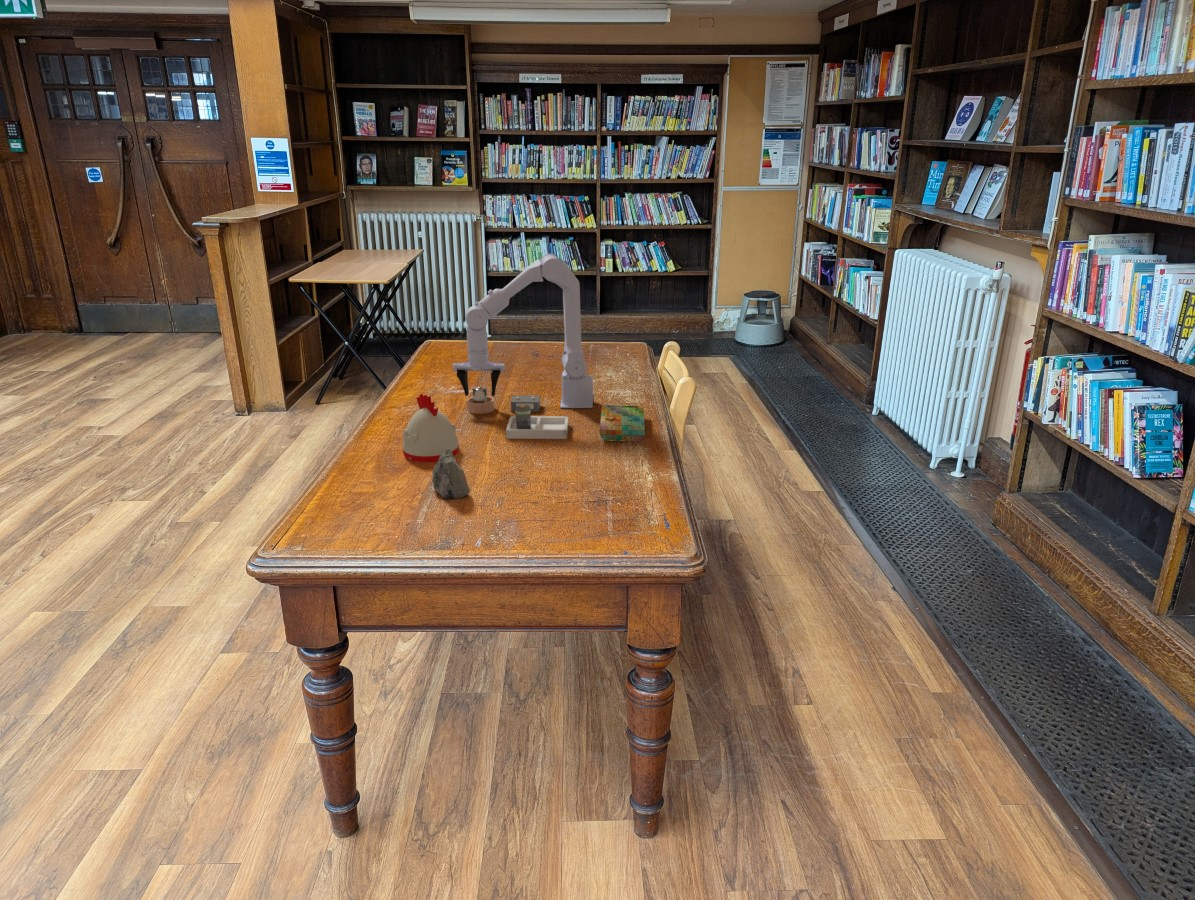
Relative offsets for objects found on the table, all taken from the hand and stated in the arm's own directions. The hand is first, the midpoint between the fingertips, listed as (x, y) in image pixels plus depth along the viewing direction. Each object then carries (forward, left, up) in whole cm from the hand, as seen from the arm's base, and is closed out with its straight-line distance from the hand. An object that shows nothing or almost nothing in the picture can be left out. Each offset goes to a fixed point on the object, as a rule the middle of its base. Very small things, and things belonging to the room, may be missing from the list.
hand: (480, 395), depth 235 cm
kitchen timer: (+8, +33, -5) cm, 34 cm away
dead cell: (0, 0, -4) cm, 4 cm away
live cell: (-14, +18, -3) cm, 23 cm away
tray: (-18, +18, -4) cm, 26 cm away
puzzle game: (-41, +16, -5) cm, 44 cm away
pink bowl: (0, 0, -4) cm, 4 cm away
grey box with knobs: (-13, -1, -4) cm, 14 cm away
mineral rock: (-1, +55, -5) cm, 55 cm away
